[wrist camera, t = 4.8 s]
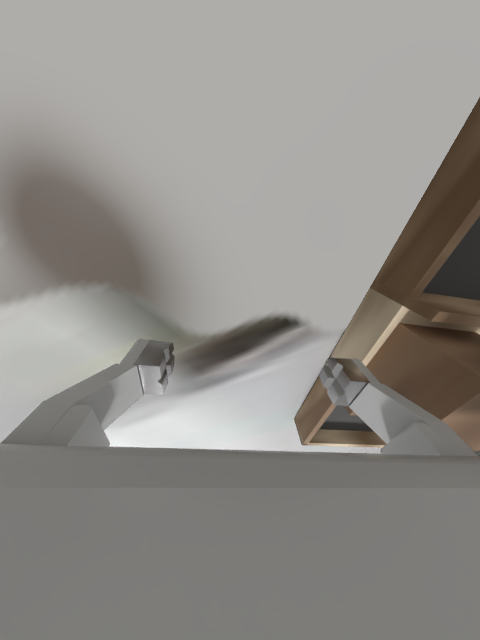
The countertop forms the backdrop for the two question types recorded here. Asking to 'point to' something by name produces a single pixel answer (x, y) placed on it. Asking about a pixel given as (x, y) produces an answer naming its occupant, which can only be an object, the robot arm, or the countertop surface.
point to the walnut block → (435, 374)
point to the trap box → (413, 285)
